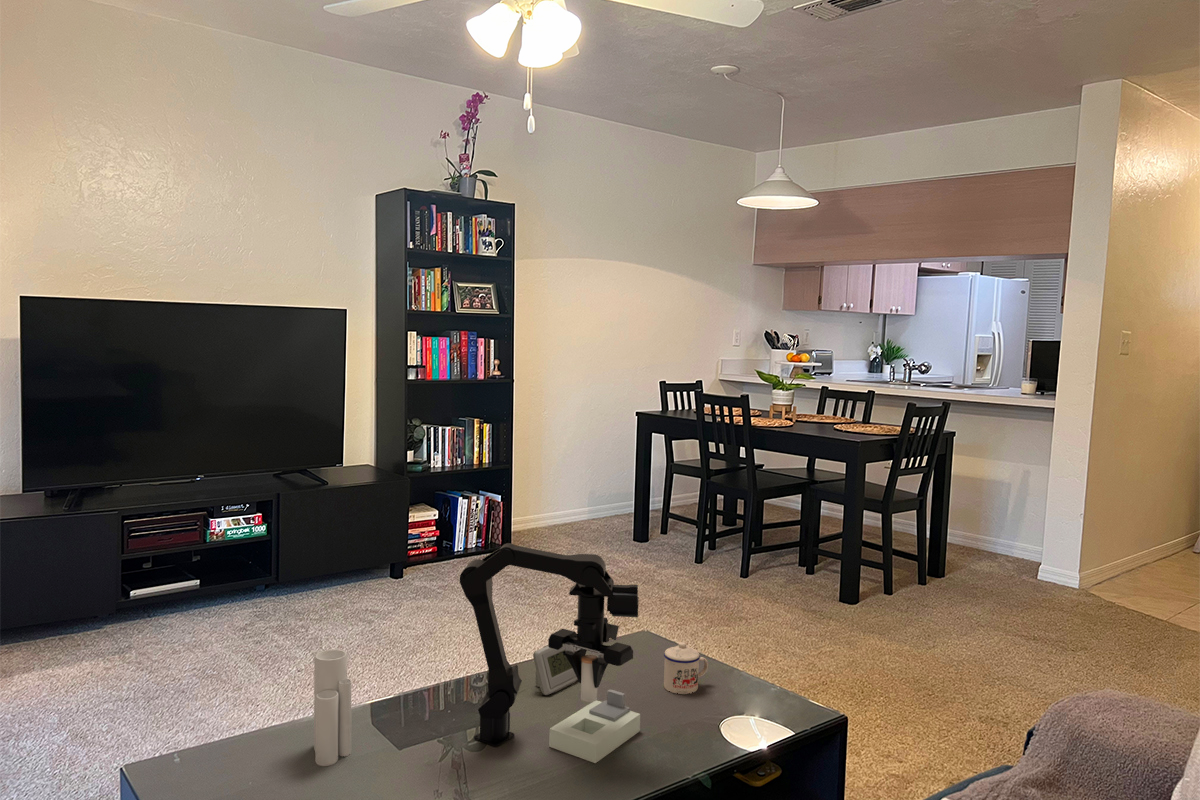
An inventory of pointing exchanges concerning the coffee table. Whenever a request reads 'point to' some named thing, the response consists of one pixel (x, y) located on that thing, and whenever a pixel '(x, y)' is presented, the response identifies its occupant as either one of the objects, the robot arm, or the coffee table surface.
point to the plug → (588, 679)
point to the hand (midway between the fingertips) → (589, 685)
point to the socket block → (592, 733)
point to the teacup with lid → (682, 669)
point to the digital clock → (553, 670)
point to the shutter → (611, 706)
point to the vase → (331, 707)
